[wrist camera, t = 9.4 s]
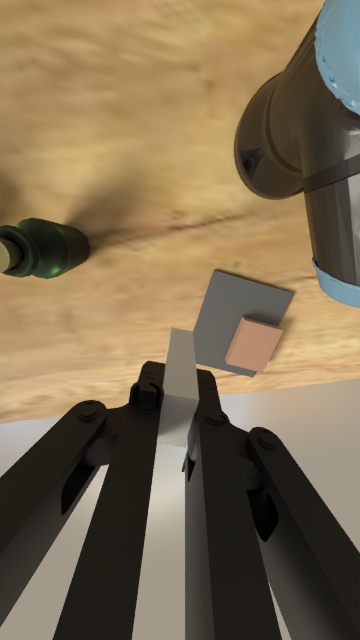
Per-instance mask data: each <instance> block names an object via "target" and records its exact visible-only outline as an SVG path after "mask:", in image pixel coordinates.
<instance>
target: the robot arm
mask: <svg viewBox="0 0 360 640" xmlns="http://www.w3.org/2000/svg"><path fill="white" fill-rule="evenodd" d="M234 157H235V163H236V167H237V171H238V173H239V175H240V178H241V179H242V181H243V182H244V184H245V185H246V186H247V187H248V188H249V189H250V190H251V191H252V192H253V193H255V194H256V195H258V196H260V197H263V198H266V199H273V200H278V199H285V198H289V197H292V196H294V195H297V194H299V193H301V192H303V191H304V197H305V204H306V211H307V218H308V224H309V231H310V238H311V245H312V252H313V257H312V262H313V265H314V267H315V268H316V272H317V276H318V281H319V285H320V287H321V289H322V290H323V291H324V292H325V293H326V294H327V295H328V296H329V297H330V298H332V299H334V300H336V301H338V302H340V303H343V304H346V305H349V306H353V307H358V308H360V0H326V1H325V2H324V4H323V8H322V9H321V11H320V13H319V14H318V16H317V17H316V19H315V21H314V22H313V24H312V26H311V27H310V29H309V31H308V32H307V34H306V36H305V37H304V39H303V40H302V42H301V44H300V45H299V47H298V49H297V50H296V52H295V53H294V55H293V57H292V58H291V60H290V61H289V63H288V65H287V66H286V68H285V70H284V71H283V72H281V73H279V74H277V75H275V76H274V77H272V78H271V79H269V80H268V81H267V82H265V83H264V84H263V85H262V86H261V87H260V88H259V90H258V91H257V92H256V93H255V94H254V96H253V97H252V98H251V100H250V102H249V103H248V105H247V107H246V109H245V111H244V113H243V115H242V117H241V119H240V121H239V124H238V127H237V131H236V135H235V141H234ZM187 440H188V450H187V453H186V457H185V460H184V463H183V467H182V472H184V471H185V640H282V638H281V634H280V629H279V625H278V621H277V616H276V612H275V608H274V604H273V600H272V596H271V591H270V587H269V584H268V581H269V583H270V586H271V588H272V591H273V593H274V596H275V598H276V601H277V604H278V606H279V608H280V611H281V614H282V616H283V619H284V621H285V624H286V627H287V629H288V631H289V634H290V637H291V639H292V640H360V553H359V551H358V550H357V549H356V547H355V546H354V544H353V543H352V541H351V540H350V538H349V537H348V536H347V534H346V533H345V531H344V530H343V528H342V527H341V526H340V524H339V523H338V521H337V520H336V518H335V517H334V516H333V514H332V513H331V511H330V510H329V509H328V507H327V506H326V504H325V503H324V501H323V500H322V499H321V497H320V496H319V494H318V493H317V491H316V490H315V488H314V487H313V486H312V484H311V483H310V481H309V480H308V479H307V477H306V476H305V474H304V473H303V471H302V470H301V468H300V467H299V466H298V464H297V463H296V461H295V460H294V459H293V457H292V456H291V454H290V453H289V451H288V450H287V448H286V447H285V446H284V444H283V443H282V442H281V440H280V439H279V438H278V437H277V435H275V434H274V433H273V432H271V431H270V430H268V429H265V428H263V427H255V428H252V430H251V431H250V432H246V431H244V430H242V429H240V428H237V427H236V426H234V425H232V424H231V423H230V421H229V419H228V416H227V415H226V414H225V413H224V412H223V411H222V409H221V405H220V400H219V395H218V391H217V385H216V381H215V377H214V376H213V374H212V373H211V372H210V371H207V370H201V369H196V360H195V349H194V337H193V332H192V331H187V330H182V329H176V328H171V332H170V337H169V342H168V347H167V352H166V357H165V362H164V363H158V362H153V361H147V362H146V363H145V364H144V365H143V366H142V369H141V373H140V376H139V379H138V382H136V383H134V384H133V386H132V387H131V391H130V398H129V403H128V404H126V405H124V406H122V407H118V408H111V409H107V408H106V407H105V405H104V404H103V403H101V402H99V401H95V400H87V401H83V402H80V403H78V404H76V405H75V406H74V407H72V408H71V409H70V410H69V411H68V412H67V413H66V414H65V415H64V416H63V417H62V418H61V419H60V420H59V421H58V422H57V423H56V424H55V425H54V426H53V427H52V428H51V429H50V430H49V431H48V432H47V433H46V434H45V435H44V436H43V437H42V438H41V439H40V440H38V442H36V443H35V444H34V445H33V446H32V447H31V448H30V449H29V450H28V451H27V452H26V453H25V454H24V455H23V456H22V457H21V458H20V459H19V460H18V461H17V462H16V463H15V464H14V465H13V466H12V467H11V468H10V469H9V470H8V471H7V472H6V473H5V474H4V475H2V476H1V478H0V627H1V626H2V624H3V622H4V621H5V619H6V618H7V616H8V614H9V612H10V611H11V610H12V608H13V606H14V605H15V603H16V601H17V600H18V598H19V597H20V595H21V594H22V592H23V590H24V589H25V587H26V585H27V584H28V582H29V580H30V579H31V577H32V576H33V574H34V573H35V571H36V569H37V568H38V566H39V565H40V563H41V561H42V560H43V558H44V557H45V555H46V553H47V552H48V550H49V549H50V547H51V545H52V544H53V542H54V541H55V539H56V537H57V536H58V534H59V533H60V531H61V529H62V528H63V526H64V525H65V523H66V521H67V520H68V518H69V517H70V515H71V513H72V512H73V510H74V509H75V507H76V505H77V504H78V502H79V501H80V499H81V497H82V496H83V494H84V493H85V491H86V489H87V488H88V486H89V484H90V483H91V481H92V480H93V478H94V477H95V475H96V473H97V472H98V470H99V469H100V467H101V466H103V465H108V464H109V467H108V470H107V473H106V476H105V479H104V482H103V485H102V488H101V492H100V494H99V498H98V501H97V504H96V507H95V510H94V513H93V516H92V519H91V522H90V526H89V528H88V532H87V535H86V538H85V541H84V544H83V547H82V550H81V553H80V556H79V560H78V563H77V566H76V569H75V572H74V575H73V578H72V581H71V584H70V587H69V591H68V594H67V597H66V600H65V603H64V607H63V609H62V612H61V615H60V618H59V622H58V625H57V628H56V631H55V634H54V637H53V640H132V632H133V624H134V617H135V609H136V602H137V594H138V585H139V578H140V570H141V563H142V555H143V547H144V539H145V531H146V524H147V516H148V507H149V500H150V492H151V485H152V477H153V469H154V460H155V453H156V445H157V443H161V444H167V445H174V446H180V447H186V443H187ZM267 578H268V579H267Z"/></svg>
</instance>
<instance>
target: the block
mask: <svg viewBox="0 0 360 640" xmlns="http://www.w3.org/2000/svg"><path fill="white" fill-rule="evenodd" d="M282 333H283V330H282V329H281V328H280V327H279V326H275V325H271V324H268V323H264V322H260V321H257V320H253V319H249V318H246V317H242V318H241V320H240V323H239V325H238V328H237V330H236V333H235V335H234V337H233V340H232V342H231V345H230V347H229V350H228V352H227V354H226V357H225V361H226V364H229V365H233V366H237V367H241V368H246V369H250V370H254V371H258V372H262V373H263V371H264V369H265V367H266V365H267V363H268V361H269V359H270V357H271V355H272V353H273V351H274V349H275V347H276V345H277V343H278V341H279V339H280V337H281V335H282Z"/></svg>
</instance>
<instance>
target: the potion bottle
mask: <svg viewBox="0 0 360 640" xmlns="http://www.w3.org/2000/svg"><path fill="white" fill-rule="evenodd" d="M88 255H89V243H88V241H87V238H86V237H85V236H84V235H83V233H82V232H80V231H79V230H77V229H75V228H73V227H69V226H65V225H62V224H58V223H54V222H51V221H47V220H43V219H37V218H29V219H26V220H22V221H21V222H20V223H18V224H17V225H16V226H15V227H14V226H9V225H5V226H1V227H0V273H3V274H5V275H9V276H15V277H21V278H22V277H26V276H30V275H31V274H32V275H34V276H36V277H39V278H45V279H49V278H54V277H58V276H60V275H62V274H63V273H65V272H67V271H69V270H71V269H73V268H75V267H77V266H78V265H80V264H82V263H83V262H84V261H86V260H87V258H88Z"/></svg>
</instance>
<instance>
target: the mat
mask: <svg viewBox="0 0 360 640" xmlns="http://www.w3.org/2000/svg"><path fill="white" fill-rule="evenodd" d="M293 294H294V293H291V292H288V291H285V290H281V289H278V288H274V287H271V286H267V285H264V284H260V283H257V282H254V281H250V280H247V279H243V278H240V277H236V276H233V275H229V274H226V273H223V272H219V271H216V270H214V272H213V275H212V278H211V281H210V284H209V287H208V290H207V293H206V296H205V299H204V302H203V305H202V308H201V311H200V314H199V317H198V320H197V323H196V326H195V329H194V332H193V337H194V349H195V360H196V364H200V365H204V366H208V367H213V368H217V369H221V370H225V371H229V372H233V373H237V374H241V375H245V376H249V377H254V375H255V372H256V371H254V370H250V369H246V368H241V367H237V366H233V365H229V364H226V361H225V357H226V354H227V352H228V350H229V347H230V345H231V342H232V340H233V337H234V335H235V333H236V330H237V328H238V325H239V323H240V320H241V318H242V317H246V318H249V319H253V320H257V321H260V322H264V323H268V324H271V325H275V326H278V325H279V323H280V321H281V319H282V317H283V315H284V312H285V310H286V308H287V306H288V304H289V302H290V300H291V298H292V296H293Z"/></svg>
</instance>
